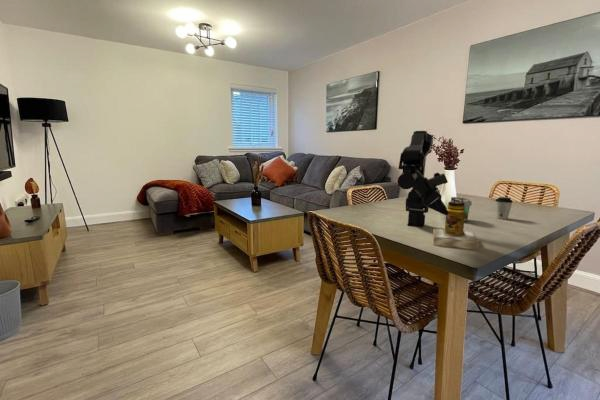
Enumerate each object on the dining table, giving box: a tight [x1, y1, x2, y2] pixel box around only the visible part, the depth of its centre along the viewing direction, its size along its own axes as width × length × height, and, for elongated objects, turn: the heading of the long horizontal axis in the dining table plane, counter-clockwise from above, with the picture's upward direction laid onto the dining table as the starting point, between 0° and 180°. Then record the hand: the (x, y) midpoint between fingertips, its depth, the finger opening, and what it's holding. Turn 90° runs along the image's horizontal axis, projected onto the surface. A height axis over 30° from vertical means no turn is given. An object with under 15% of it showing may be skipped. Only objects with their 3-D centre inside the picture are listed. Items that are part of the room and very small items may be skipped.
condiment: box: [441, 200, 467, 237], centre depth 108 cm, size 7×8×12 cm
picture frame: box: [432, 228, 480, 251], centre depth 109 cm, size 14×12×3 cm
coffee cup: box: [495, 196, 513, 221], centre depth 141 cm, size 7×7×10 cm
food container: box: [450, 196, 473, 223], centre depth 139 cm, size 12×6×10 cm, turn 179°
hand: (446, 211), depth 108 cm, fingers open, 9 cm apart
